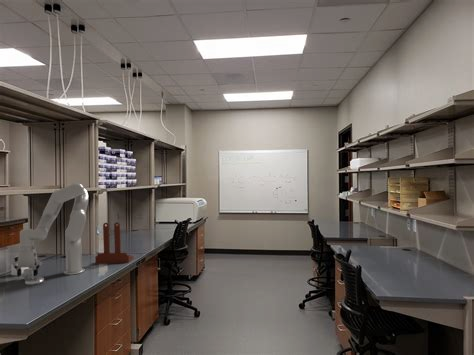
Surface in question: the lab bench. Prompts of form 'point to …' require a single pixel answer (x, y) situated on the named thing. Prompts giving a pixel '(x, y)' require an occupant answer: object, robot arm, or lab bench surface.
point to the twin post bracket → (116, 256)
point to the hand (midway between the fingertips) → (27, 275)
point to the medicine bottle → (13, 270)
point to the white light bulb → (27, 274)
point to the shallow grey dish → (34, 281)
